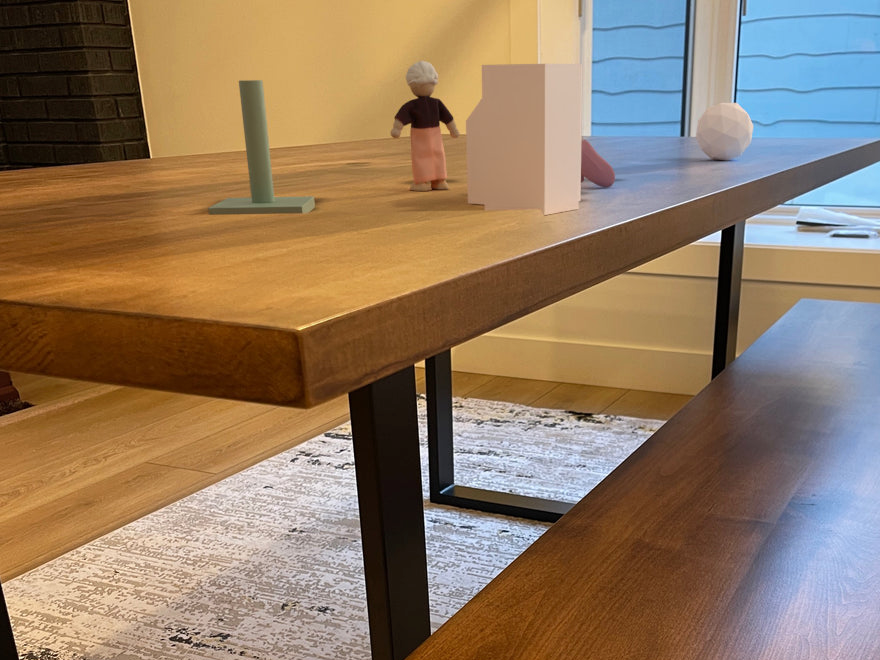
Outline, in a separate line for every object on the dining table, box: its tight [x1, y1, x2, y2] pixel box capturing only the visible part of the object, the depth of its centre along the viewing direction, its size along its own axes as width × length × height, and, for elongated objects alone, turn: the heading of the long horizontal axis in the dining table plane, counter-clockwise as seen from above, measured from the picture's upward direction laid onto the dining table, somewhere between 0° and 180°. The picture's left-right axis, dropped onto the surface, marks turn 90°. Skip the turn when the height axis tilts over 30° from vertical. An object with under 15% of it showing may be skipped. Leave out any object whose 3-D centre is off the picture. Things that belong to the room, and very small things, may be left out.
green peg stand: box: [207, 79, 316, 216], centre depth 88 cm, size 8×8×11 cm
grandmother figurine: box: [390, 60, 460, 192], centre depth 105 cm, size 8×4×13 cm, turn 130°
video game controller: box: [581, 136, 616, 188], centre depth 109 cm, size 10×5×7 cm, turn 27°
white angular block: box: [465, 63, 584, 216], centre depth 91 cm, size 11×11×12 cm
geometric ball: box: [695, 102, 755, 161], centre depth 140 cm, size 8×8×8 cm
